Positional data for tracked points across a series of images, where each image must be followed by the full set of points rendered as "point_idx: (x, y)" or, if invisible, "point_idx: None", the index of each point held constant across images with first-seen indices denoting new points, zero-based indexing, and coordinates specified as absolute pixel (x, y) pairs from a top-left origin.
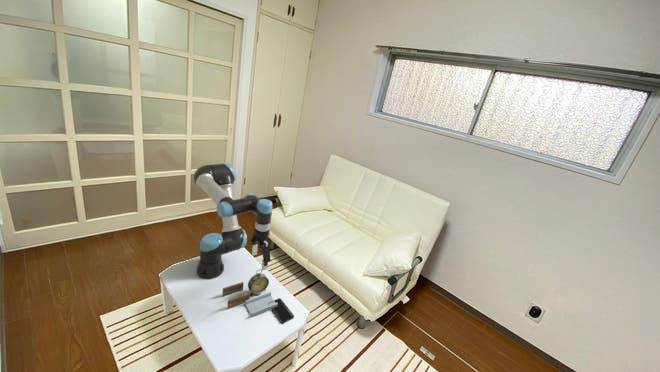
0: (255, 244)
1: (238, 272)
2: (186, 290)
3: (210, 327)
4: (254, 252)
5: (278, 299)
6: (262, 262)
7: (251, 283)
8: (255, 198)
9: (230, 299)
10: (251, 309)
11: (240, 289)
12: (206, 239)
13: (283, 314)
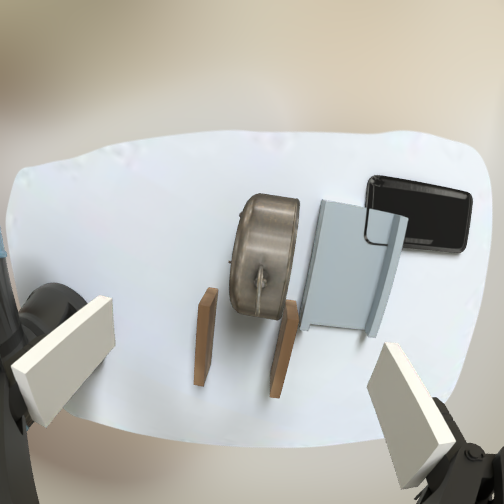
0: (17, 391)
1: (106, 248)
2: (134, 415)
3: (310, 427)
4: (94, 344)
5: (373, 186)
6: (396, 459)
7: (272, 319)
8: None
9: (273, 390)
10: (343, 316)
11: (215, 304)
12: None
13: (444, 222)
